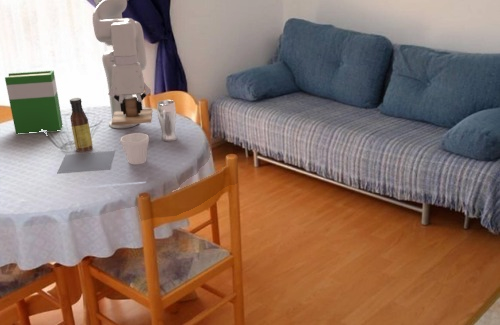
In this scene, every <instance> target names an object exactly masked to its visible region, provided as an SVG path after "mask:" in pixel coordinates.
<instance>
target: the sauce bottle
mask: <svg viewBox="0 0 500 325" xmlns="http://www.w3.org/2000/svg"><path fill="white" fill-rule="evenodd" d="M82 102H83V101H82V98H81V97H74V98H70V99H69V104H70V106H71V115H70V118H69V119H70V124H71V130H72V131H71V132H72V136H73V141H74V145H75V150H76V151H77V152H88V151H90V150H92V149H93V141H92V140H93V139H92V134H91V130H90V129H91V128H90V124H89V119H88V117H87V115H86V113H85V111H84V109H83V106H82Z"/></svg>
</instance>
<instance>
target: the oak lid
mask: <svg viewBox="0 0 500 325" xmlns="http://www.w3.org/2000/svg"><path fill="white" fill-rule="evenodd" d="M137 101H138V98H137V96H133V97H126V98H124V103H125V112H126V114H125V115H123V112H121V111H115V113H114V116H113V119H112V118H111V120H112V122H111V123H112V125H123V124H137V123H139V124H148V123H152V120H153V119H152V117H153V108H144V109H143V108H142V110H141V112H140V113H138V107H137Z"/></svg>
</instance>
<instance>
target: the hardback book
mask: <svg viewBox="0 0 500 325" xmlns="http://www.w3.org/2000/svg"><path fill="white" fill-rule="evenodd" d="M4 81H5V84H6V91H7V96H8V100H9V106H10V112H11V115H12V116H11V117H12V120H13V126H14V132H15V135H16V134H18V133H29V132H39V131H41V129H43V130H47V131H57V130H61V131H62V129H61V128H63V126H64V124H63V119H62V115H61V114H62V113H61V105H60V101H59V95H58V89H57V83H56V76H55V70H44V71H43V70H41V71H40V70H39V71H27V72H26V71H24V72H12V73H8V76H5V77H4ZM62 125H63V126H62Z"/></svg>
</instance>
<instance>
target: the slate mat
mask: <svg viewBox="0 0 500 325" xmlns="http://www.w3.org/2000/svg"><path fill="white" fill-rule="evenodd" d="M115 153H116V151H115V150H108V151H94V152H92V151H91V152H82V153H68V154H67V153H66V154H65V155H64V157H63V160H62V161H61V163H60V165H59V167H58V169H57V172H56V174H71V173H81V172H84V173H85V172H94V171H95V172H96V171H106V170H110V171H111V168H112V164H113V161H114V157H115Z"/></svg>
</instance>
